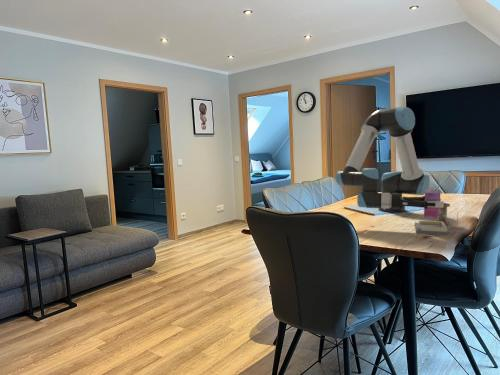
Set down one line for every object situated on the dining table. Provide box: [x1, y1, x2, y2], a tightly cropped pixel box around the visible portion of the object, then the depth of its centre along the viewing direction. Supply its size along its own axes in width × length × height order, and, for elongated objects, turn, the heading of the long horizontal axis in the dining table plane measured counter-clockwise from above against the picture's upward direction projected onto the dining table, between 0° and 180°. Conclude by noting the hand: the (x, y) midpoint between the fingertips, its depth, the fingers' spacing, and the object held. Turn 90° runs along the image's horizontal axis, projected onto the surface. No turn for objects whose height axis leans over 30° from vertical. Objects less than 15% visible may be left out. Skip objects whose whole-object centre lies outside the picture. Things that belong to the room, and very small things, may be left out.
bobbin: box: [437, 202, 451, 226], centre depth 182 cm, size 6×6×10 cm
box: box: [423, 189, 441, 220], centre depth 170 cm, size 10×6×12 cm, turn 148°
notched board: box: [414, 219, 452, 235], centre depth 171 cm, size 14×17×3 cm
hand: (442, 202), depth 168 cm, fingers closed on box, 11 cm apart
